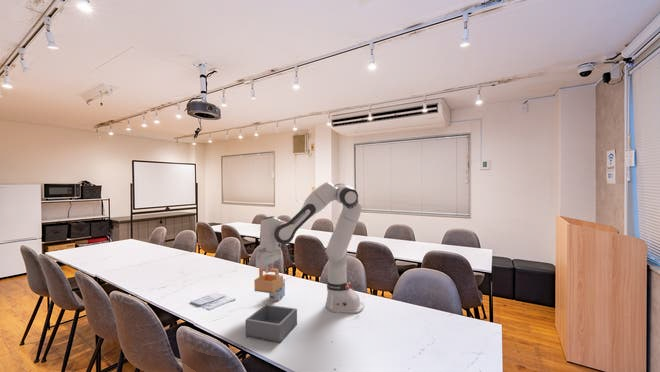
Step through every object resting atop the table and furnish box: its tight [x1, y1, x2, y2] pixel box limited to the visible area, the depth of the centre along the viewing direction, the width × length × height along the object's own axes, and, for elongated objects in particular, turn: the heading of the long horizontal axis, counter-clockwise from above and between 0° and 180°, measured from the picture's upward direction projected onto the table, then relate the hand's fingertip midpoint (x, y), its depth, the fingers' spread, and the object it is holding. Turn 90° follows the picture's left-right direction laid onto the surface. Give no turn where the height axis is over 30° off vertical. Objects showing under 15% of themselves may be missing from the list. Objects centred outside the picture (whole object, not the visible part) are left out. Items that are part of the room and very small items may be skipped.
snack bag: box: [189, 291, 237, 311], centre depth 171 cm, size 19×20×2 cm
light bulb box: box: [268, 278, 286, 302], centre depth 176 cm, size 11×7×11 cm, turn 169°
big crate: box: [244, 304, 298, 344], centre depth 135 cm, size 18×18×8 cm
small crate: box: [253, 267, 284, 294], centre depth 151 cm, size 11×11×11 cm
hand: (269, 271), depth 151 cm, fingers closed on small crate
